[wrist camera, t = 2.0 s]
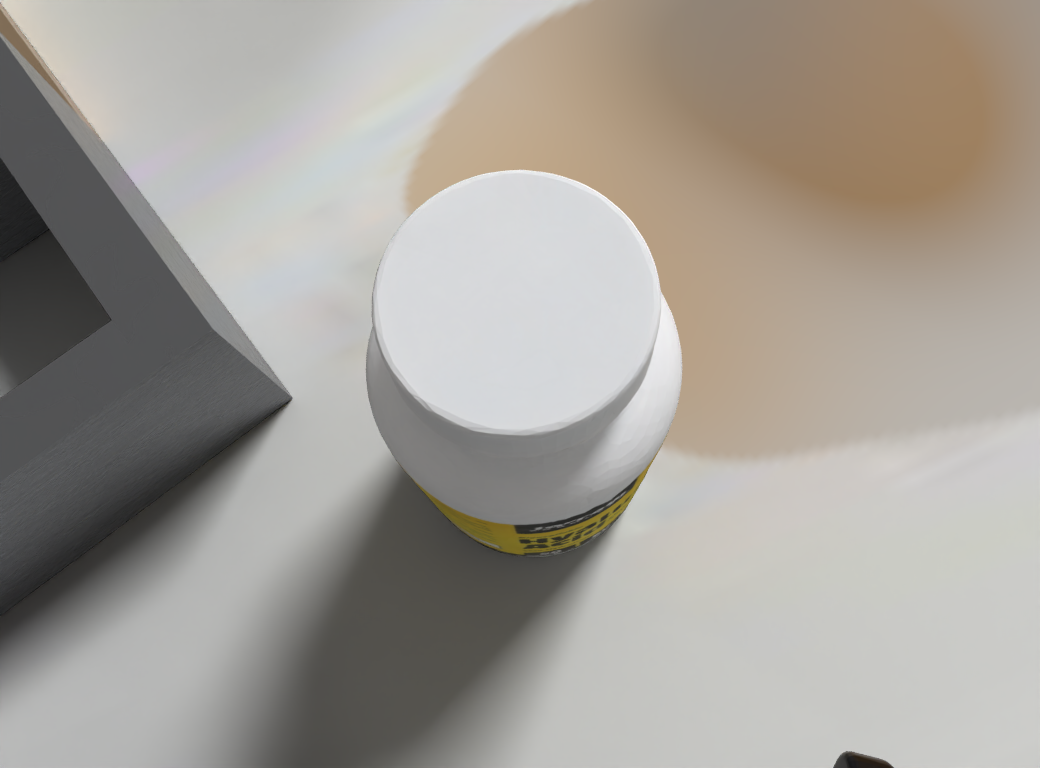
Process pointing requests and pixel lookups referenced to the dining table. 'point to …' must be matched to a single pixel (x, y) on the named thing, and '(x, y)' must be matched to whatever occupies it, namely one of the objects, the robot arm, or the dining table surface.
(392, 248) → the supplement bottle
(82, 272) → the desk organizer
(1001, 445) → the dining table surface
